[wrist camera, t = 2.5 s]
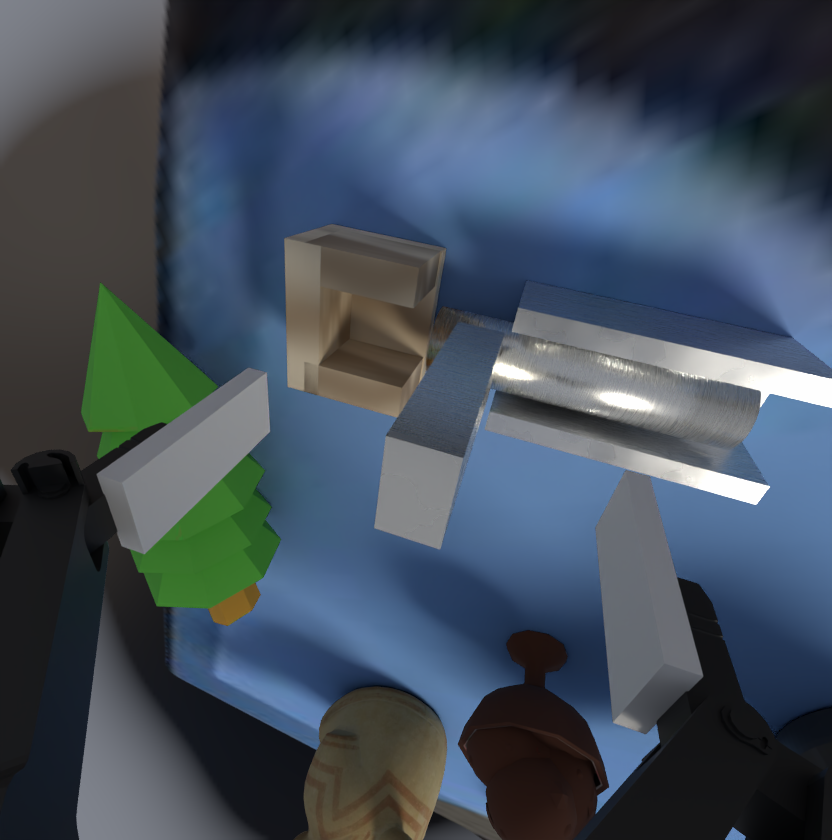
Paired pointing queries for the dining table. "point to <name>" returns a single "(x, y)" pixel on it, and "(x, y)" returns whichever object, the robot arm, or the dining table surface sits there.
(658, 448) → the channel
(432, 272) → the socket
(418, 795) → the ceramic vessel
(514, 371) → the shiny silver metal piece
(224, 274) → the dining table surface
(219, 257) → the dining table surface
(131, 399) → the decorative tree
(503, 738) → the ice cream bowl
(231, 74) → the dining table surface
